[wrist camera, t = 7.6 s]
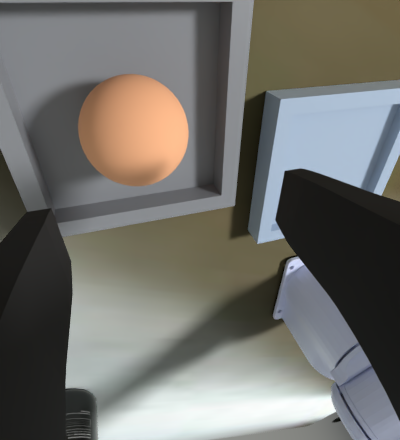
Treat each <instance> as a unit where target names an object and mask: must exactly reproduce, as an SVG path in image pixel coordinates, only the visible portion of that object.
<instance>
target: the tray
mask: <svg viewBox="0 0 400 440" xmlns="http://www.w3.org/2000/svg"><path fill="white" fill-rule="evenodd" d="M253 4H254V0H0V149H1V151H2V154H3V156H4V158H5V161H6V163H7V165H8V168H9V170H10V172H11V175H12V177H13V180H14V182H15V184H16V187H17V189H18V191H19V194H20V196H21V198H22V201H23V203H24V205H25V208H26V210H27V212H29V211H35V210H42V209H48V208H52V211H53V214H54V216H55V219H56V222H57V224H58V227H59V230H60V233H61V235H62V237H65V236H71V235H76V234H82V233H87V232H93V231H98V230H104V229H109V228H115V227H120V226H126V225H131V224H137V223H143V222H148V221H154V220H159V219H165V218H170V217H176V216H181V215H187V214H192V213H198V212H203V211H209V210H214V209H220V208H225V207H231V206H235V198H236V188H237V177H238V166H239V155H240V144H241V134H242V123H243V112H244V101H245V90H246V79H247V69H248V58H249V47H250V36H251V25H252V14H253ZM123 74H138V75H143V76H147V77H150V78H152V79H155V80H156V81H158V82H160V83H161V84H163V85H164V86H165V87H167V88H168V89H169V90H170V91H171V92H172V93H173V94H174V95H175V96H176V98H177V99H178V101H179V102H180V104H181V106H182V108H183V110H184V112H185V115H186V118H187V123H188V130H189V137H188V144H187V148H186V152H185V154H184V157H183V159H182V160H181V162H180V164H179V165H178V166H177V168H176V169H175V170H174V171H173V172H172V173H171V174H170V175H169V176H167V177H166V178H164V179H163V180H161V181H159V182H156V183H154V184H151V185H146V186H127V185H123V184H119V183H117V182H114V181H112V180H110V179H108V178H107V177H105V176H104V175H102V174H101V173H100V172H99V171H98V170H96V169H95V168H94V166H93V165H92V164H91V163H90V161H89V160H88V159H87V157H86V155H85V153H84V151H83V149H82V146H81V143H80V139H79V133H78V120H79V115H80V111H81V108H82V105H83V103H84V101H85V99H86V97H87V96H88V95H89V93H90V92H91V91H92V90H93V89H94V88H95V87H96V86H97V85H99V84H100V83H101V82H103V81H105V80H107V79H109V78H111V77H114V76H117V75H123Z"/></svg>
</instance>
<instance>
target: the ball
mask: <svg viewBox="0 0 400 440" xmlns="http://www.w3.org/2000/svg"><path fill="white" fill-rule="evenodd" d="M78 133H79V139H80V143H81V146H82V149H83V151H84V153H85V155H86V157H87V159H88V160H89V161H90V163H91V164H92V165H93V166H94V168H95V169H96V170H98V171H99V172H100V173H101V174H102V175H104V176H105V177H107V178H108V179H110V180H112V181H114V182H117V183H119V184H123V185H127V186H146V185H151V184H154V183H156V182H159V181H161V180H163V179H164V178H166V177H167V176H169V175H170V174H171V173H172V172H173V171H174V170H175V169H176V168H177V166H178V165H179V164H180V162H181V160H182V159H183V157H184V154H185V152H186V148H187V144H188V137H189V130H188V123H187V118H186V115H185V112H184V110H183V108H182V106H181V104H180V102H179V101H178V99H177V98H176V96H175V95H174V94H173V93H172V92H171V91H170V90H169V89H168V88H167V87H165V86H164V85H163V84H161V83H160V82H158V81H156V80H155V79H152V78H150V77H147V76H143V75H138V74H123V75H117V76H114V77H111V78H109V79H107V80H105V81H103V82H101V83H100V84H99V85H97V86H96V87H95V88H94V89H93V90H92V91H91V92H90V93H89V95H88V96H87V97H86V99H85V101H84V103H83V105H82V108H81V111H80V115H79V120H78Z"/></svg>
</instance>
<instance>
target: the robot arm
mask: <svg viewBox="0 0 400 440" xmlns="http://www.w3.org/2000/svg"><path fill="white" fill-rule="evenodd" d="M275 221H276V223H277V225H278V226H279V228H280V230H281V232H282V234H283V236H284V237H285V239H286V241H287V242H288V244H289V245H290V247H291V248H292V249H293V251H294V252H295V253H296V254H297V256H298V257H294V258H290V259H288V260H287V262H286V265H285V269H284V273H283V277H282V281H281V285H280V289H279V293H278V297H277V301H276V305H275V309H274V313H273V318H274V319H280V318H282V319H283V320H284V322H285V324H286V325H287V327H288V328H289V330H290V332H291V333H292V335H293V337H294V338H295V340H296V342H297V343H298V345H299V346H300V348H301V350H302V351H303V353H304V355H305V356H306V358H307V360H308V361H309V363H310V364H311V365H312V366H313V367H314V368H315V369H316V370H317V371H318V372H319V373H321V374H322V375H324V376H325V377H327V378H329V379H332V380H335V381H336V382H335V383H333V384H332V386H331V391H332V393H331V398H332V402H333V405H334V407H335V410H336V412H337V414H338V416H339V417H340V419H341V421H342V423H343V424H344V426H345V428H346V429H347V431H348V432H349V434H350V435H351V437H352V438H353V440H400V202H399V201H396V200H393V199H390V198H386V197H383V196H381V195H378V194H375V193H372V192H369V191H366V190H364V189H361V188H358V187H355V186H353V185H350V184H347V183H345V182H342V181H339V180H336V179H334V178H331V177H328V176H325V175H322V174H320V173H317V172H313V171H310V170H306V169H302V168H299V169H293V170H287V171H285V172H284V177H283V182H282V187H281V193H280V198H279V203H278V208H277V213H276V218H275ZM71 305H72V271H71V260H70V257H69V255H68V252H67V249H66V246H65V244H64V241H63V238H62V235H61V233H60V230H59V227H58V224H57V222H56V219H55V216H54V214H53V211H52V208H48V209H42V210H35V211H29V212H27V213H26V214H25V215H24V216H23V217H22V218H21V219H20V220H19V222H18V223H17V224H16V225H15V226H14V228H13V229H12V230H11V231H10V232H9V233H8V235H7V236H6V237H5V238H4V239H3V241H2V242H1V243H0V440H66V400H65V379H66V361H67V350H68V339H69V328H70V317H71Z"/></svg>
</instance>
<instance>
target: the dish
mask: <svg viewBox="0 0 400 440" xmlns="http://www.w3.org/2000/svg"><path fill="white" fill-rule="evenodd" d="M399 155H400V80H392V81H380V82H368V83H356V84H344V85H332V86H321V87H309V88H297V89H285V90H273V91H266V96H265V103H264V111H263V118H262V126H261V133H260V141H259V149H258V156H257V164H256V171H255V179H254V186H253V194H252V202H251V209H250V217H249V224H248V231H249V232H250V234H251V235H252V237H253V238H254V240H255V241H256V243H257V244H259V243H263V242H268V241H272V240H277V239H282V238H285V237H284V236H283V234H282V232H281V230H280V228H279V226H278V225H277V223H276V221H275V218H276V213H277V208H278V203H279V198H280V193H281V187H282V182H283V177H284V172H285V171H287V170H293V169H299V168H302V169H306V170H310V171H313V172H317V173H320V174H322V175H325V176H328V177H331V178H334V179H336V180H339V181H342V182H345V183H347V184H350V185H353V186H355V187H358V188H361V189H364V190H366V191H369V192H372V193H375V194H378V195H382V193H383V191H384V188H385V186H386V184H387V182H388V179H389V177H390V175H391V173H392V170H393V168H394V166H395V164H396V161H397V159H398V157H399Z"/></svg>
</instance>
